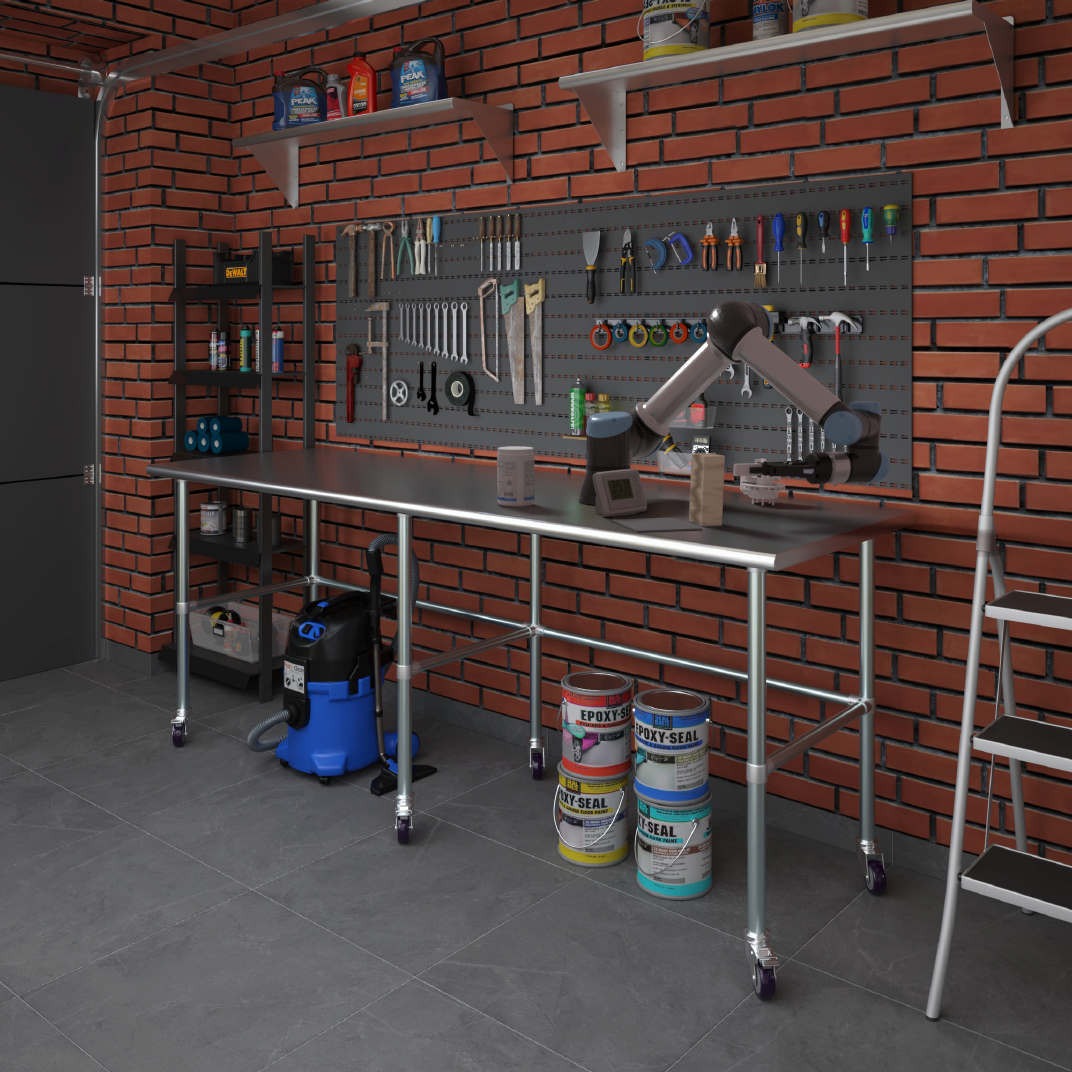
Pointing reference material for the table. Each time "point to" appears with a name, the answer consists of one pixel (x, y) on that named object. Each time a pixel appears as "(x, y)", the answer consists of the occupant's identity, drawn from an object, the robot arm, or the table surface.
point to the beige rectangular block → (706, 489)
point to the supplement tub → (515, 476)
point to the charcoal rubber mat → (656, 524)
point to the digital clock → (619, 493)
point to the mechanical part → (761, 486)
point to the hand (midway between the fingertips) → (735, 469)
